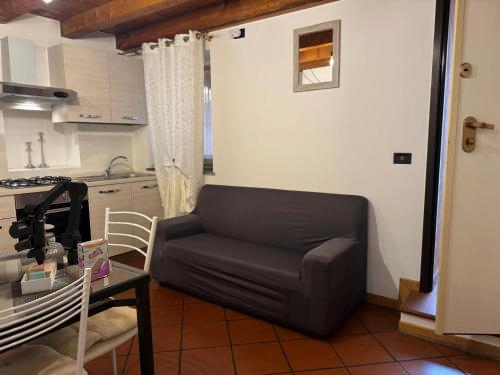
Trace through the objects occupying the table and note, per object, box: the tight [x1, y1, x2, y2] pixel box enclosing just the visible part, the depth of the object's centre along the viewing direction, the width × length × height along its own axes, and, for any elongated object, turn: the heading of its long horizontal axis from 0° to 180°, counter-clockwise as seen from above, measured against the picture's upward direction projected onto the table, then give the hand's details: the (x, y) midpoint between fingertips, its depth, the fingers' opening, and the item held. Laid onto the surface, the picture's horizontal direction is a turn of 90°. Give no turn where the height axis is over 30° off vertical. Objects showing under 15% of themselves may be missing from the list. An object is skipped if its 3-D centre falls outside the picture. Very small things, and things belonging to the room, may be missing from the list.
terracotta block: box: [30, 264, 47, 273], centre depth 145 cm, size 5×5×2 cm
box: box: [20, 269, 55, 295], centre depth 140 cm, size 10×11×5 cm
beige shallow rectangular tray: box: [26, 258, 58, 281], centre depth 152 cm, size 10×16×4 cm, turn 25°
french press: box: [44, 223, 58, 256], centre depth 181 cm, size 10×12×25 cm
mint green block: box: [30, 271, 45, 280], centre depth 141 cm, size 5×5×2 cm
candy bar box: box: [77, 238, 110, 281], centre depth 146 cm, size 11×5×16 cm, turn 141°
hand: (40, 267), depth 148 cm, fingers closed
